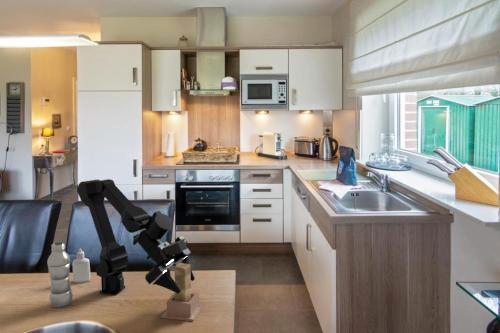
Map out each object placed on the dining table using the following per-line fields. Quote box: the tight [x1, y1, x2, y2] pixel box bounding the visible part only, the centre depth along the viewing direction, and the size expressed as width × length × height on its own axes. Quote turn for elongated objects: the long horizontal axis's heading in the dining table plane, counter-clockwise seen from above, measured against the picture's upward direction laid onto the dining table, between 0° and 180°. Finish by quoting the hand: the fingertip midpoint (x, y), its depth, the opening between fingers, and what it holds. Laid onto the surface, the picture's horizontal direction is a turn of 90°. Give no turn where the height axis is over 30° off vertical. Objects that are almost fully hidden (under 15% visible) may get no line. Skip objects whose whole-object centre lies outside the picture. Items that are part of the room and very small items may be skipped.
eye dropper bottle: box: [72, 248, 91, 284], centre depth 147 cm, size 4×6×12 cm
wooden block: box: [174, 263, 192, 302], centre depth 124 cm, size 4×4×14 cm
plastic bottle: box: [46, 241, 74, 308], centre depth 128 cm, size 6×7×20 cm
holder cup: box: [160, 291, 205, 322], centre depth 125 cm, size 10×10×5 cm
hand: (186, 286), depth 123 cm, fingers open, 9 cm apart
